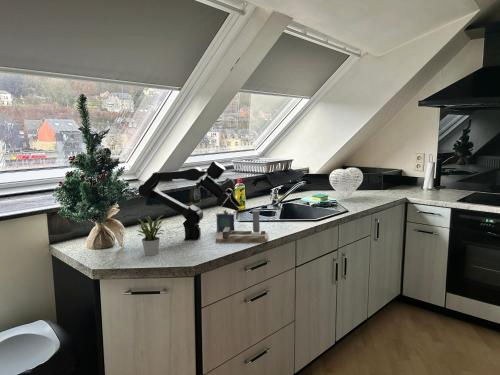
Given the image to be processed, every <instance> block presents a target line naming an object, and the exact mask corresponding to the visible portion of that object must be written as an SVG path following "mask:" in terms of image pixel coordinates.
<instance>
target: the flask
mask: <svg viewBox="0 0 500 375" xmlns="http://www.w3.org/2000/svg"><path fill="white" fill-rule="evenodd" d="M225 227H230V233H231V231H235V215H234V213H232V212H228V211H227V209H225V210H223V213H222V212H221V213H219V212H217V213H216V231H217V232H218V233H223V230H224V228H225Z"/></svg>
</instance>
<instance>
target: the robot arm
mask: <svg viewBox="0 0 500 375" xmlns="http://www.w3.org/2000/svg"><path fill="white" fill-rule="evenodd" d="M226 170H227V169H226V167H225V166H223V165H222V164H221V163H218V162H217V161H215V160H212V162H211V163H210V165H209V167H207V168H206V169H202V167H198V166H196V167H195V166H194V167H192V168H188V169H183V170H171V171H170V170H169V171H156V172H153V173H152V174H151V176H149V178H147V179H146V181H145V182H144V183H143V184H140V185H139V186H138V189H137V192H138V194H139V195H140V196H141V197H143V198H145V199H149V200H154V201H157V202H158V203H161V204H162V205H164V206H165V207H168V208H169V209H171V210H173V211H175V212H177V213H179V214H181V216H182V217H183V219H185V220H184V222H182V225H183V228H184V236H185V237H184V238H183V239H184V241H198V240H199V239H200V238H201V237H202V235H201V234H202V231H201V227H200V222H201V221H202V220H203V218H204V212H203V211H202V209H201V208H200V207H198V206H196V205H195V204H191V205H189V206H188V205H186V204H184V203H182V202H180V201H179V200H177V199H175V198H173V197H171V196H169V195H168V194H166V193H164V192H162V191H161V190H160V188H158V187H157V186H158V185H159V183H160V181H166V180H167V181H168V180H171V181H172V180H186V181H190V182H191V181H193V182H195V186H196V189H197V190H198V189H200V188H203V189H204V190H206V191H207V193H209V195H210V196H213V197H215V198H216V202H215V203H216V205H217V206H218V207H221V208H225V209H230V210H233V211H237V212H238V211H239V210H240V208H241V206H242V204H241V203H240V202H239V201H238V199H237V198H236V197H235V195H234V191H233V189H232V188H231V187H233V186H235V185H236V182H235V181H234V179H233V178H232V177H231V178H230V177H227V178H226V179H225V181H224V182H223V183H221V182H216V181H215V180H219V179H220V178H221V176H222V175H223V173H225V171H226ZM196 181H199V182H196Z"/></svg>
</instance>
